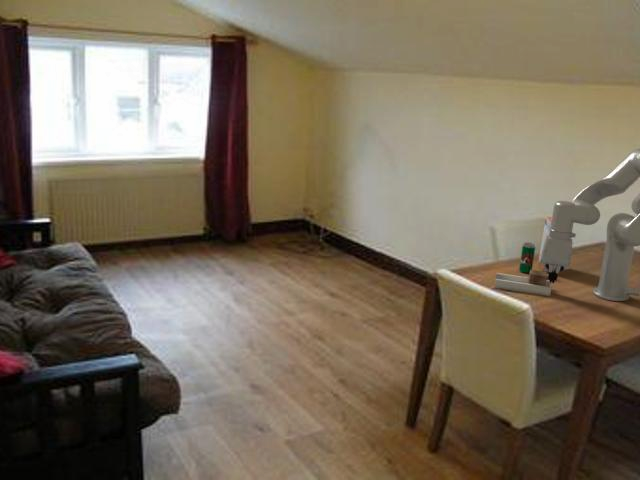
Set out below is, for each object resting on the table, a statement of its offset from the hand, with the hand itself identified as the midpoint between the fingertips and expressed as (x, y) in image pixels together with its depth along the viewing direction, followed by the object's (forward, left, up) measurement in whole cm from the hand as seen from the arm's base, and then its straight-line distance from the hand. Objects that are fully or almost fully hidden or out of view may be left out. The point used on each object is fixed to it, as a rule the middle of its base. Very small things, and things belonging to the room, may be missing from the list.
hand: (551, 281), depth 232 cm
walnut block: (+5, 0, -4) cm, 7 cm away
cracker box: (0, -32, -5) cm, 32 cm away
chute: (+10, 0, -4) cm, 11 cm away
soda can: (+9, -22, -5) cm, 24 cm away
